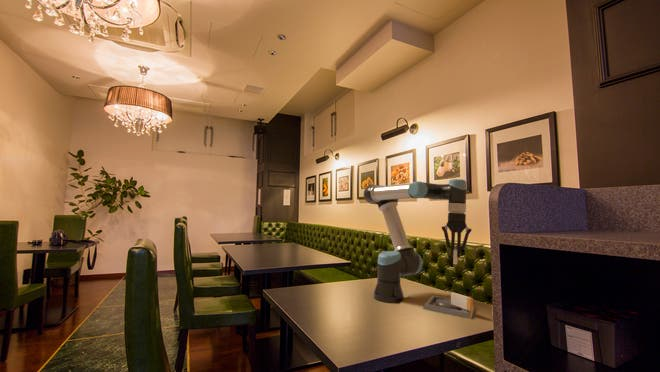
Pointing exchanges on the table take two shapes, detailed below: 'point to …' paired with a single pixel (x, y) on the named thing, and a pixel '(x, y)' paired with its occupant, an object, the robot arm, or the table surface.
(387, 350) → the table surface
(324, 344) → the table surface
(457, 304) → the grey dome with handle
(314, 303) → the table surface
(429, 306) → the grey rectangular tray
